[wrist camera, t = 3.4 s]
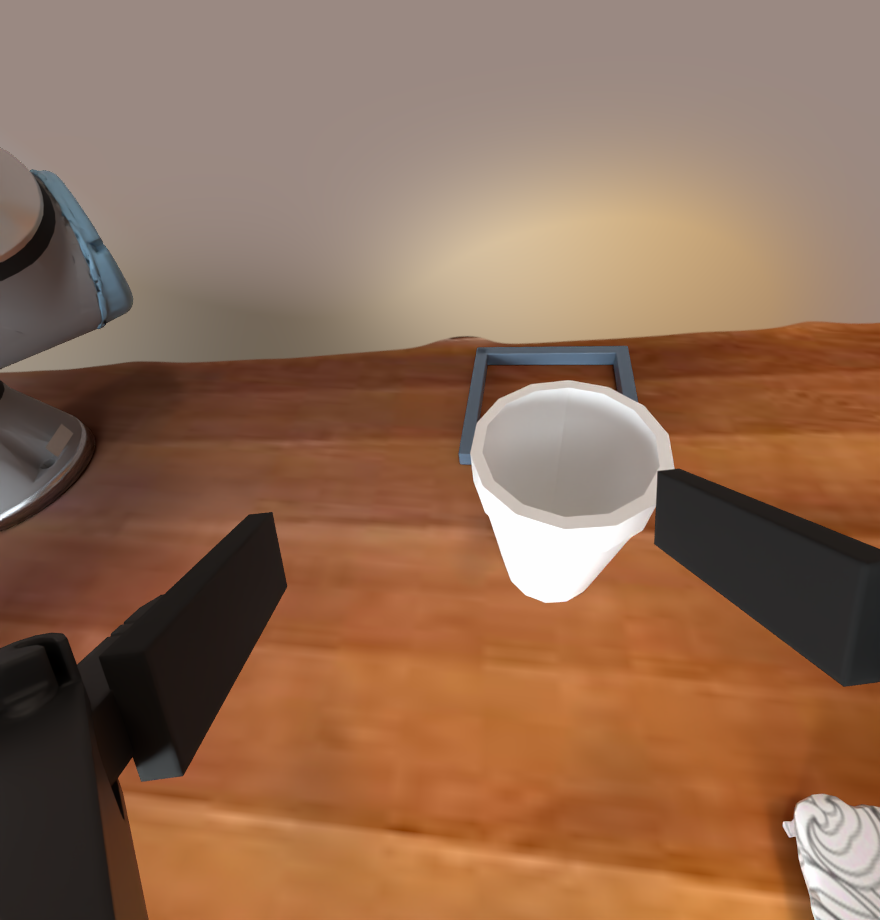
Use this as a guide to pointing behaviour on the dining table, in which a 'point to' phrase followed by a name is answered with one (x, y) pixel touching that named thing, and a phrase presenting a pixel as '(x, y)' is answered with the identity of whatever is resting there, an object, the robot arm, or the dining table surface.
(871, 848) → the cookie jar
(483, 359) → the bay
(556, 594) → the foam cup
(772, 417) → the dining table surface
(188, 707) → the robot arm
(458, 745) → the dining table surface
